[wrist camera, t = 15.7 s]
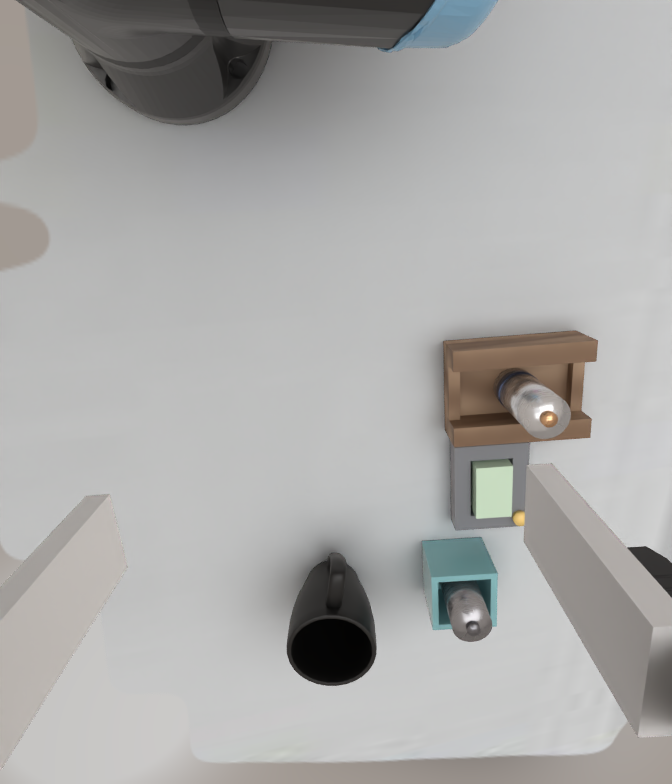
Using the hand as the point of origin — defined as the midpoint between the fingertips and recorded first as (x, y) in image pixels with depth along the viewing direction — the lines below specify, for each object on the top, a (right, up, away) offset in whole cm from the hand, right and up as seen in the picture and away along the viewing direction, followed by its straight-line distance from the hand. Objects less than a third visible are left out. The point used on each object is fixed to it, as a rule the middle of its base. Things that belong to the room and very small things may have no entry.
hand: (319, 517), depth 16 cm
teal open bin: (+13, -14, +38) cm, 43 cm away
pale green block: (+16, -5, +34) cm, 37 cm away
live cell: (+17, +4, +30) cm, 35 cm away
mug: (0, -15, +38) cm, 41 cm away
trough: (+17, +5, +32) cm, 36 cm away
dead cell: (+13, -15, +37) cm, 42 cm away
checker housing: (+16, -5, +35) cm, 38 cm away
